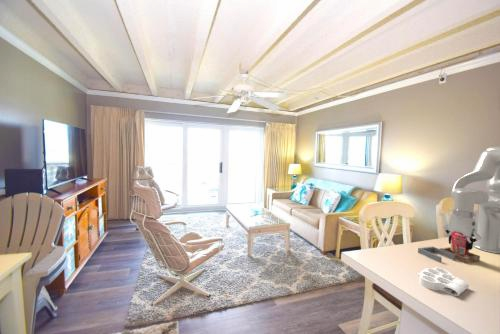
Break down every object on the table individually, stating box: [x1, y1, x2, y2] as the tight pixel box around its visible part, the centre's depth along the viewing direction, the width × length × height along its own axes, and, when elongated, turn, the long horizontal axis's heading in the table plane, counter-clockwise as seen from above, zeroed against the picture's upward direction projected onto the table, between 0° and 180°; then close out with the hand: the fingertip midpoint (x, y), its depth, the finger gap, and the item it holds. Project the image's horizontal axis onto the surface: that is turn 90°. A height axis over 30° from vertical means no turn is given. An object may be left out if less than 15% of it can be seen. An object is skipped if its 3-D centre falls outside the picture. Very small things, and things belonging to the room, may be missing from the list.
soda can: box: [450, 230, 470, 255], centre depth 114 cm, size 7×7×12 cm
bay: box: [417, 246, 456, 263], centre depth 114 cm, size 11×11×2 cm
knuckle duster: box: [416, 267, 470, 297], centre depth 90 cm, size 3×18×15 cm
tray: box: [439, 246, 481, 264], centre depth 115 cm, size 11×11×2 cm
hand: (459, 246), depth 114 cm, fingers closed on soda can, 7 cm apart
